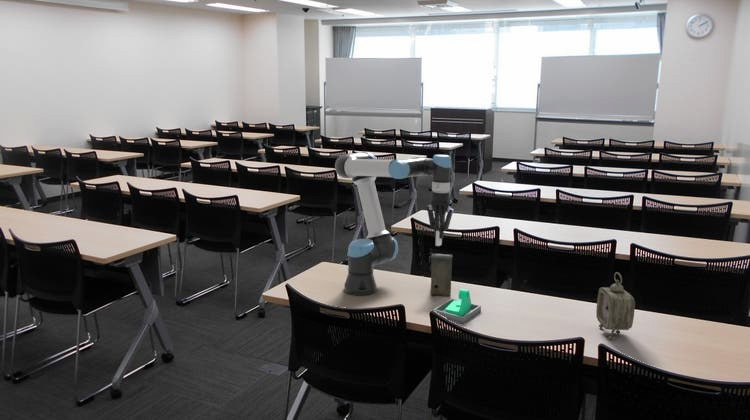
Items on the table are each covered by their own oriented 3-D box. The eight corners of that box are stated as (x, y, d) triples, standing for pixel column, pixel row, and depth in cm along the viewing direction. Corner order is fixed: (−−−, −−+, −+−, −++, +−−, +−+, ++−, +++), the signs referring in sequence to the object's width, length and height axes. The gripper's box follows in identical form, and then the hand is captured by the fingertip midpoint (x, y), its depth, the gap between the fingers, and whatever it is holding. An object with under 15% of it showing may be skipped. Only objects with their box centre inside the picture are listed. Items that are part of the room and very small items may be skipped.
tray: (432, 315, 235) (433, 309, 235) (451, 303, 248) (451, 298, 248) (463, 323, 227) (463, 317, 227) (480, 311, 240) (481, 305, 240)
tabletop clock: (594, 326, 227) (600, 266, 222) (617, 326, 227) (623, 267, 222) (607, 341, 213) (614, 278, 208) (632, 342, 213) (639, 279, 207)
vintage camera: (450, 287, 271) (451, 246, 267) (451, 297, 256) (452, 254, 252) (430, 286, 272) (430, 246, 268) (430, 296, 256) (430, 254, 253)
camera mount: (453, 305, 245) (455, 283, 242) (470, 308, 241) (472, 286, 239) (444, 315, 234) (445, 291, 232) (462, 318, 231) (463, 294, 229)
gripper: (423, 190, 239) (421, 244, 244) (450, 194, 232) (447, 249, 237) (431, 188, 245) (429, 240, 250) (458, 192, 238) (456, 245, 243)
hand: (438, 245), depth 244 cm, fingers closed
